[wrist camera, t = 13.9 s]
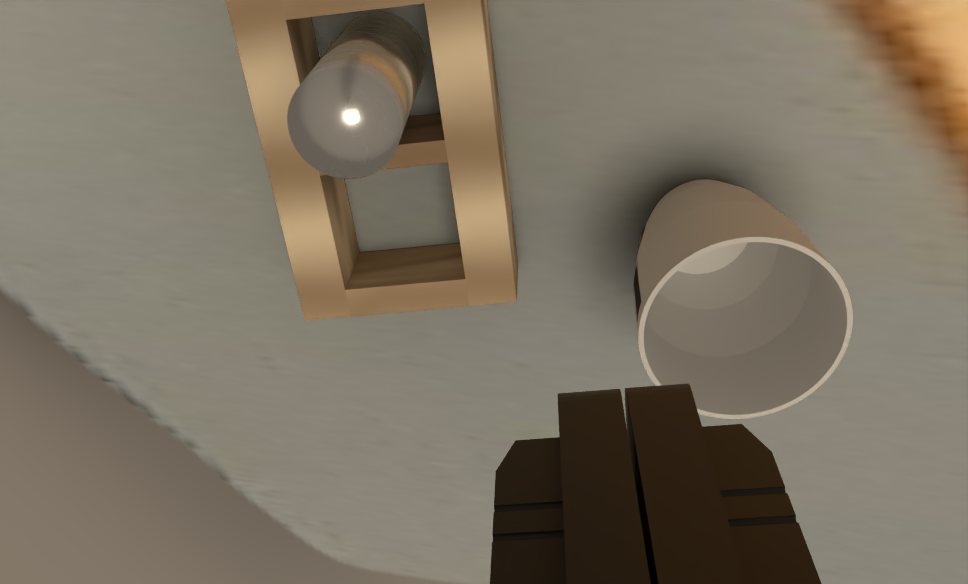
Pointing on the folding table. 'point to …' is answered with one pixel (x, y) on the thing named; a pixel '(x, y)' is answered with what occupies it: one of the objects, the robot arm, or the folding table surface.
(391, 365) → the folding table surface
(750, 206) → the cup
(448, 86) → the frame
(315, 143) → the grey rounded cylinder
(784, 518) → the robot arm
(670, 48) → the folding table surface
